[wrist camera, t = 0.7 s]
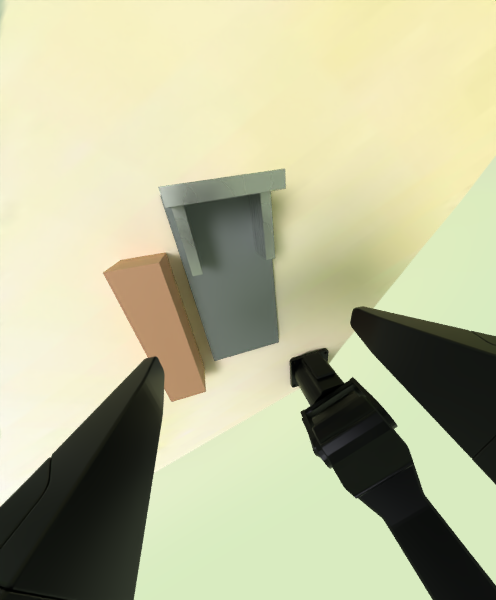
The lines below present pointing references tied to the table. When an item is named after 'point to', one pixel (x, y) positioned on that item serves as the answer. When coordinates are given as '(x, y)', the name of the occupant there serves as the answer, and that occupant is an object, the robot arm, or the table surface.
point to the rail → (159, 320)
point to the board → (230, 278)
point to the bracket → (221, 189)
